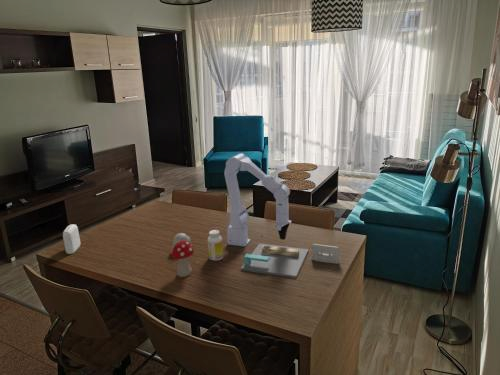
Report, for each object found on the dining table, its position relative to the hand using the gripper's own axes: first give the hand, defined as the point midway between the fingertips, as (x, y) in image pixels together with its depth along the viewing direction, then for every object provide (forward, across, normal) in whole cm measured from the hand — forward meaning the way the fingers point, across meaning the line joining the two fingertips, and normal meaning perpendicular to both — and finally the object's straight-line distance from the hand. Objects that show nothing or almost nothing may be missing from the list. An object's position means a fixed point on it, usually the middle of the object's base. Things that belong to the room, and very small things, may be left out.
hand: (282, 238), depth 182 cm
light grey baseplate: (+5, -11, 0) cm, 13 cm away
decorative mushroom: (+5, -33, +34) cm, 48 cm away
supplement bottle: (+6, -16, +27) cm, 32 cm away
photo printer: (+5, -27, +99) cm, 103 cm away
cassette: (+6, -6, -21) cm, 23 cm away
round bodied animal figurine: (+5, -12, +46) cm, 48 cm away
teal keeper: (+5, -19, +6) cm, 21 cm away
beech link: (+4, -6, 0) cm, 8 cm away
